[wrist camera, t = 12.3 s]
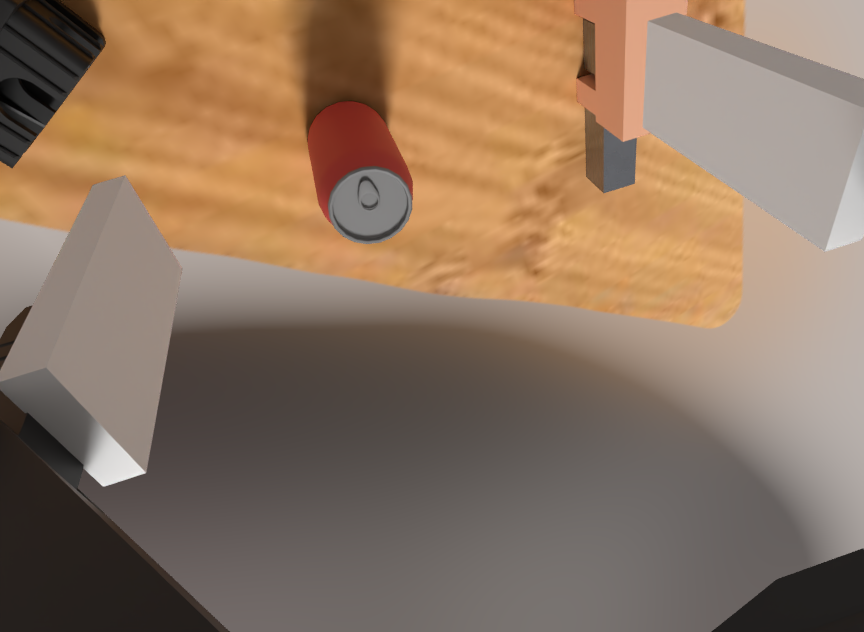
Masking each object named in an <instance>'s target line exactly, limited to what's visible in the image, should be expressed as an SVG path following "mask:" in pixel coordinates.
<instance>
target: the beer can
mask: <svg viewBox="0 0 864 632" xmlns="http://www.w3.org/2000/svg"><path fill="white" fill-rule="evenodd" d="M307 141H308V149H309V155H310V160H311V166H312V171H313V176H314V181H315V187H316V192H317V197H318V203H319V206H320V207H321V209H322V211H323V213H324V215H325V217H326V218H327V220H328V221H329V222H330V223H331V224H332V225H333V226H334V228H335V229H336V230H337V231H338V232H339V233H340V234H341V235H342V236H343V237H345V238H347V239H349V240H351V241H353V242H357V243H363V244H372V243H380V242H382V241H385V240H387V239H390V238H392V237H393V236H394V235H396V234H397V233H398V232H399V231H401V230H402V228H403V227H404V226H405V224H406V223H407V221H408V220H409V217H410V214H411V211H412V200H413V181H412V178H411V175H410V173H409V170H408V167H407V165H406V163H405V161H404V159H403V157H402V156H401V154H400V152H399V150H398V148H397V146H396V144H395V142H394V140H393V138H392V136H391V134H390V132H389V130H388V128H387V126H386V124H385V122H384V120H383V119H382V118H381V117H380V115H379V114H378V113H377V112H376V111H375V110H373V109H372V108H370V107H369V106H367V105H366V104H362V103H358V102H354V101H346V102H338V103H335V104H333V105H330V106H328V107H326V108H325V109H324V110H323V111H321V112H320V113H319V114H318V115H317V116H316V117H315V119H314V121H313V123H312V124H311V126H310V129H309V134H308V139H307Z"/></svg>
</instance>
